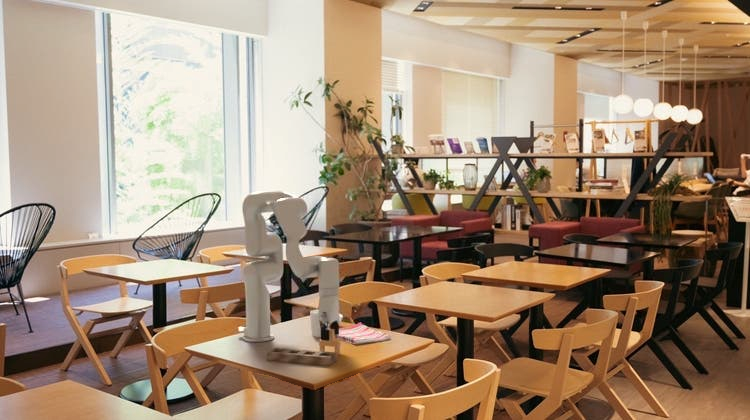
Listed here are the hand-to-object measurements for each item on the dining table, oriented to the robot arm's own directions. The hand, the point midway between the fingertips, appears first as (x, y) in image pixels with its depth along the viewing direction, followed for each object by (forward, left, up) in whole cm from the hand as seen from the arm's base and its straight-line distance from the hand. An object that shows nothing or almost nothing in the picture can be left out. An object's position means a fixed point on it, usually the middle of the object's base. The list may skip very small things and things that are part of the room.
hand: (330, 337), depth 269 cm
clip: (0, 0, -6) cm, 6 cm away
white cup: (-14, +25, -6) cm, 30 cm away
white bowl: (-16, +41, -6) cm, 45 cm away
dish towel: (+2, +27, -7) cm, 28 cm away
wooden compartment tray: (-6, -12, -6) cm, 15 cm away
